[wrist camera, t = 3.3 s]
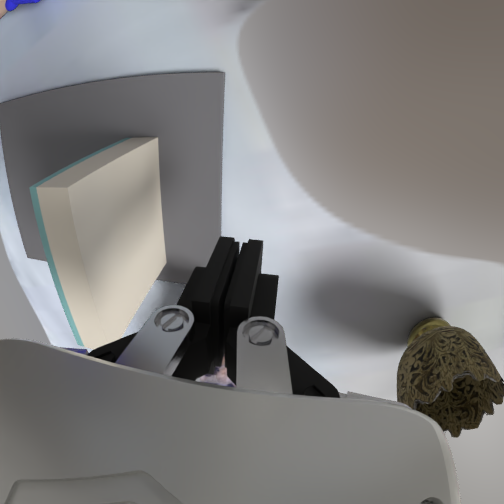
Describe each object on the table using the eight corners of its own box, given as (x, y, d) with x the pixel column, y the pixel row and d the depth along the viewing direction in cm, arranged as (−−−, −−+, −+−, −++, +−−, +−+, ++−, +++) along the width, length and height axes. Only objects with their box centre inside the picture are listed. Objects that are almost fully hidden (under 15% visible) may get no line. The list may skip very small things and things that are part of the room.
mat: (2, 103, 16) (-2, 104, 15) (225, 72, 14) (223, 72, 14) (30, 255, 22) (27, 257, 22) (221, 284, 21) (219, 288, 20)
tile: (126, 137, 16) (29, 187, 9) (158, 137, 16) (67, 187, 9) (138, 258, 20) (78, 344, 13) (166, 262, 20) (111, 354, 13)
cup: (476, 283, 18) (524, 367, 11) (460, 352, 22) (487, 429, 15) (381, 303, 20) (406, 401, 13) (380, 369, 23) (393, 454, 17)
